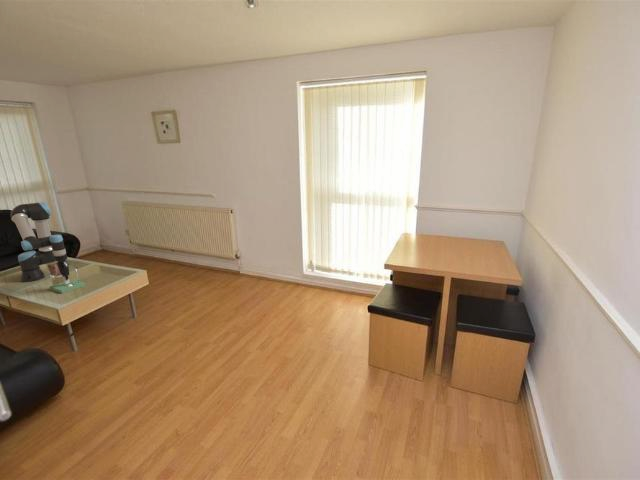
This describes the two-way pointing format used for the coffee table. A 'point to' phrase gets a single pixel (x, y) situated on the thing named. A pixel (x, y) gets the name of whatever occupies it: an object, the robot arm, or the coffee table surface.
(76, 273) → the pin
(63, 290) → the green board
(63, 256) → the robot arm
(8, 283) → the coffee table surface
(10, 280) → the coffee table surface
